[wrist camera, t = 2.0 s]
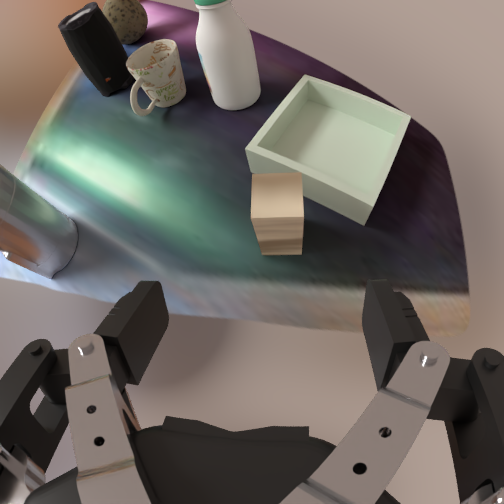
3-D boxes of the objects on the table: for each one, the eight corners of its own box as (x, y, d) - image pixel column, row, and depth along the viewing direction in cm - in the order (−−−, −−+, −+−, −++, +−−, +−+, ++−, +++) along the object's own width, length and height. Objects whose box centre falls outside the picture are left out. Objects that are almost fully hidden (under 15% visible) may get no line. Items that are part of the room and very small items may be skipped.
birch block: (301, 254, 35) (303, 216, 26) (262, 255, 36) (250, 218, 27) (300, 218, 37) (301, 172, 27) (263, 219, 37) (252, 173, 28)
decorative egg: (161, 26, 59) (143, -20, 45) (141, 50, 55) (118, 0, 41) (127, 32, 61) (107, -9, 47) (106, 56, 58) (82, 12, 44)
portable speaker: (129, 93, 50) (85, 17, 31) (92, 102, 51) (45, 35, 33) (143, 67, 52) (108, -6, 34) (107, 75, 54) (68, 11, 36)
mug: (200, 81, 48) (185, 37, 38) (170, 133, 44) (146, 87, 35) (160, 81, 50) (142, 41, 40) (128, 130, 46) (102, 90, 37)
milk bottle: (270, 89, 45) (255, -19, 26) (241, 118, 43) (212, 3, 25) (233, 76, 47) (209, -23, 28) (204, 102, 46) (166, 0, 27)
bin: (364, 226, 35) (373, 206, 31) (250, 171, 40) (245, 148, 35) (402, 138, 39) (411, 116, 34) (305, 98, 43) (304, 74, 39)
